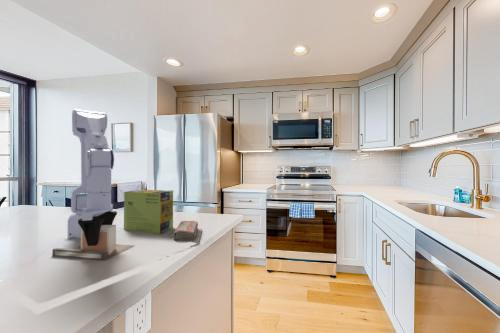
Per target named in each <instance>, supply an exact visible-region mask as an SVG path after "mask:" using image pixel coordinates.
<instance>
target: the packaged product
mask: <svg viewBox="0 0 500 333" xmlns="http://www.w3.org/2000/svg"><path fill="white" fill-rule="evenodd" d="M198 226H199V224H198V221H195V220H181V222H180V223H179V224H178V226H177V227H176V228H175V230H174V231H173V232H172V233H171V235H170V236H169V237H170V238H172V239H173V241H185V242H190V243H193V244H194V245H199V241H200V237H201V233H202V231H203V230H202V228H198Z"/></svg>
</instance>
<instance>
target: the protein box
mask: <svg viewBox="0 0 500 333" xmlns="http://www.w3.org/2000/svg"><path fill="white" fill-rule="evenodd" d="M123 194H124V196H123V198H124V199H123V201H124V202H123V230H129V231H133V230H134V231H139V232H144V233H148V234H153V235H162V234H164V233H165V232H167V231H169V230H171V229H173V228H174V190H163V189H138V190H137V189H136V190H129V191H124V193H123Z"/></svg>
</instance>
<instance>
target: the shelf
mask: <svg viewBox="0 0 500 333" xmlns="http://www.w3.org/2000/svg"><path fill="white" fill-rule="evenodd" d="M132 248H135V245H130V244H129V245H128V244H118V243H116V249H115V250H114V251H113V252H112V253H111V254H109V255H108V252H101V251H89V250H81V245H79V246H76V247H72V248H61V247H55V248H53V249H52V253H51V254H52V256H51V257H61V258H69V259H71V258H72V259H83V260H93V261H107V260H109V259H112V258H113V257H115V256H117V255H119V254H121V253H123V252H125V251H128V250H130V249H132Z"/></svg>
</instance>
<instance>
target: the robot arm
mask: <svg viewBox="0 0 500 333" xmlns="http://www.w3.org/2000/svg"><path fill="white" fill-rule="evenodd" d="M71 126H72V127H71V128H72V129H71V130H72V135H73V136H75V137H77V138H78V140H79V143H80V162H81V163H80V172H81V174H80V180H81V181H80V185H78V186H77V187H74V189H73V190H72V192H71V197H70V206H71V207H70V209H71V213H72V214H71V215H70V216H69V217H68V219H67V239H72V238H77V239H81V230H83V232H84V235H85V238H86V241H87V245H88V246H96V245H97V244H98V241H99V233H100V229H101V226H102V225H113V222H114V221H115V218H116V217H117V215H118V211H117V210H114V204H113V203H112V170H113V169H114V166H115V153H114V150H113V149H112V148H111V147H109V143H108V139H107V137H106V136H105V133H106V131H107V128H108V115H107V114H106V112H99V111H91V110H90V111H89V110H84V109H83V110H82V109H77V108H74V109H73V110H72V111H71ZM113 210H114V211H113Z"/></svg>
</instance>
